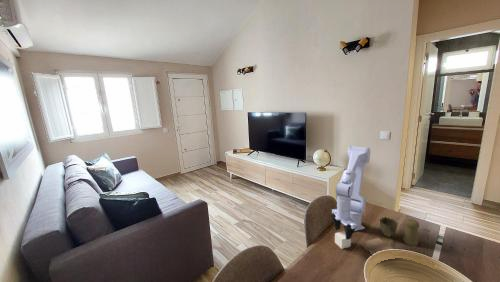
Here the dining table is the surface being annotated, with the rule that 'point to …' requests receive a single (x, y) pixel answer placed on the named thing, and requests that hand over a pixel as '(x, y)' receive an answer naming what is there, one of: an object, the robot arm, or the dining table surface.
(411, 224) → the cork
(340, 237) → the offwhite cube
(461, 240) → the dining table surface
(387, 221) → the cup
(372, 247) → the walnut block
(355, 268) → the dining table surface
